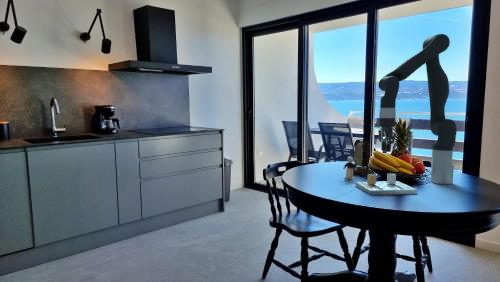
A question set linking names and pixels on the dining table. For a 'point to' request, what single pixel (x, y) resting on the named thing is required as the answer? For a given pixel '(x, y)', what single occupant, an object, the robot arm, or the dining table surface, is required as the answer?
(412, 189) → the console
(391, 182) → the fader
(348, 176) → the grandmother figurine
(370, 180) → the fader
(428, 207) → the dining table surface
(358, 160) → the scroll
